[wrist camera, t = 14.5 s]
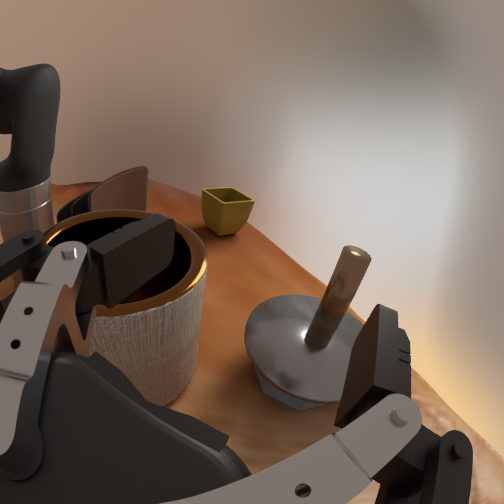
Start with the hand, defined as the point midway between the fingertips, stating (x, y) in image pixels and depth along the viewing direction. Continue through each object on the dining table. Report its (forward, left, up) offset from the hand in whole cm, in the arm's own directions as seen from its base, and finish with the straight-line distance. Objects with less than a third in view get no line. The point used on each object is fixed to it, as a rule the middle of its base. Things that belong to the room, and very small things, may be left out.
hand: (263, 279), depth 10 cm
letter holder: (-46, -15, -24) cm, 54 cm away
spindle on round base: (-11, +14, -18) cm, 25 cm away
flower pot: (-50, +11, -24) cm, 56 cm away
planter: (-15, -8, -24) cm, 29 cm away
